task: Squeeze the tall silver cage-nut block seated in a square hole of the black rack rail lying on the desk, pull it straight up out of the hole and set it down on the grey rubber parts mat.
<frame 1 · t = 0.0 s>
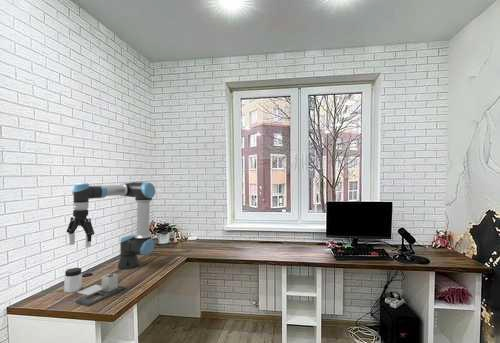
hand: (79, 246, 155), 28 cm above the table, fingers open, 13 cm apart
cage nut: (109, 292, 158), resting in rack rail
jar: (73, 290, 161), on the table
rack rail: (101, 295, 153), on the table
parts mat: (92, 290, 160), on the table
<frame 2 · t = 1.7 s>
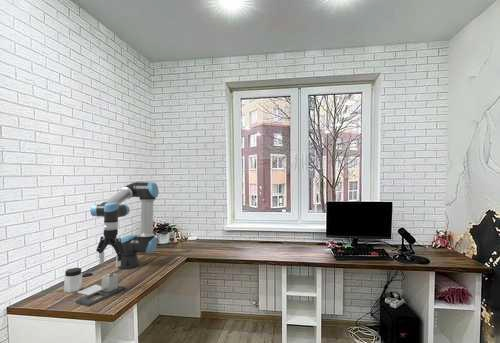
hand: (109, 265, 158), 16 cm above the table, fingers open, 13 cm apart
nothing on the table moved.
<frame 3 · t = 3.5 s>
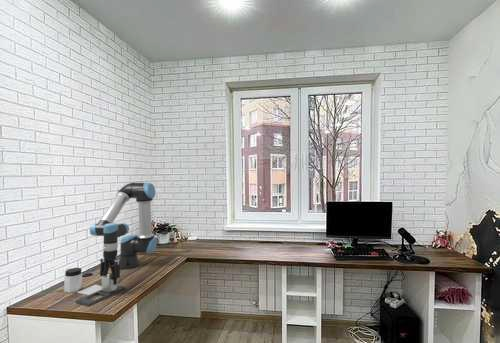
hand: (109, 288, 158), 2 cm above the table, fingers closed on cage nut, 6 cm apart
cage nut: (109, 292, 158), resting in rack rail, touching gripper
everything else where it was.
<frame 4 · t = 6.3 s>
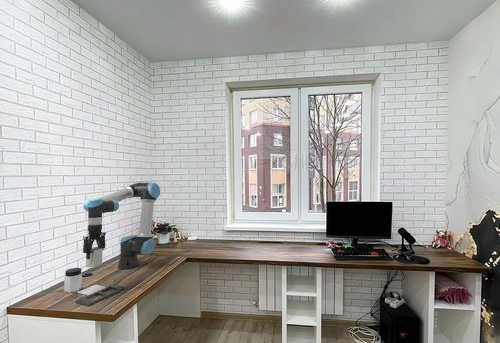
hand: (94, 262, 161), 17 cm above the table, fingers closed on cage nut, 6 cm apart
cage nut: (94, 265, 161), point 15 cm above the table, touching gripper
everything else where it was.
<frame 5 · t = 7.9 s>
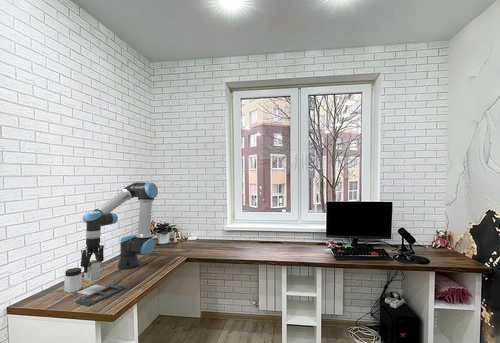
hand: (92, 275, 160), 9 cm above the table, fingers closed on cage nut, 6 cm apart
cage nut: (92, 279, 160), point 7 cm above the table, touching gripper
everything else where it was.
when the fingers open (4 cm above the table, at t = 9.1 s): cage nut drops 2 cm, resting on parts mat.
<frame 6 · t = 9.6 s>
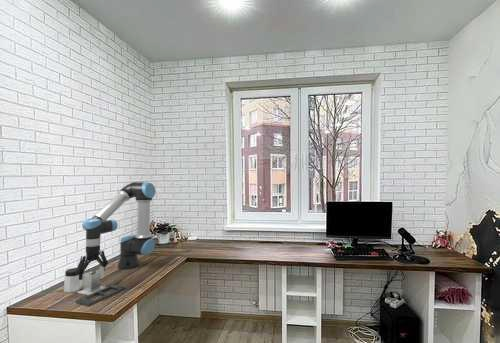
hand: (92, 280, 160), 6 cm above the table, fingers open, 12 cm apart
cage nut: (92, 289, 160), resting on parts mat
everything else where it was.
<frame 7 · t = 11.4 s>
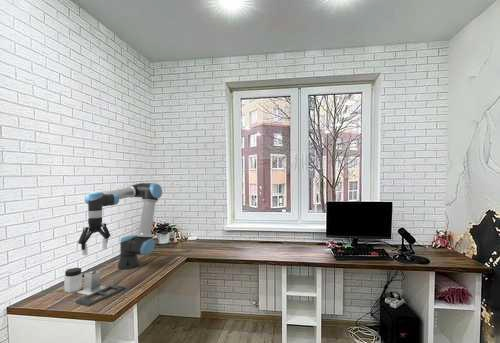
hand: (95, 251, 163), 22 cm above the table, fingers open, 13 cm apart
nothing on the table moved.
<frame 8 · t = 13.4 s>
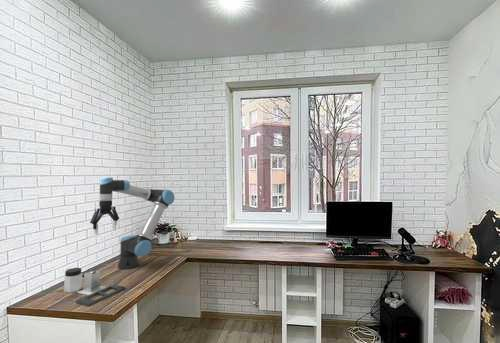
hand: (105, 232, 177), 32 cm above the table, fingers open, 13 cm apart
nothing on the table moved.
at the end: cage nut inside the target area on the parts mat (0.0 cm from its centre), point 0.4 cm above the parts mat's base; cage nut touching parts mat; cage nut tilted 0° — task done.
